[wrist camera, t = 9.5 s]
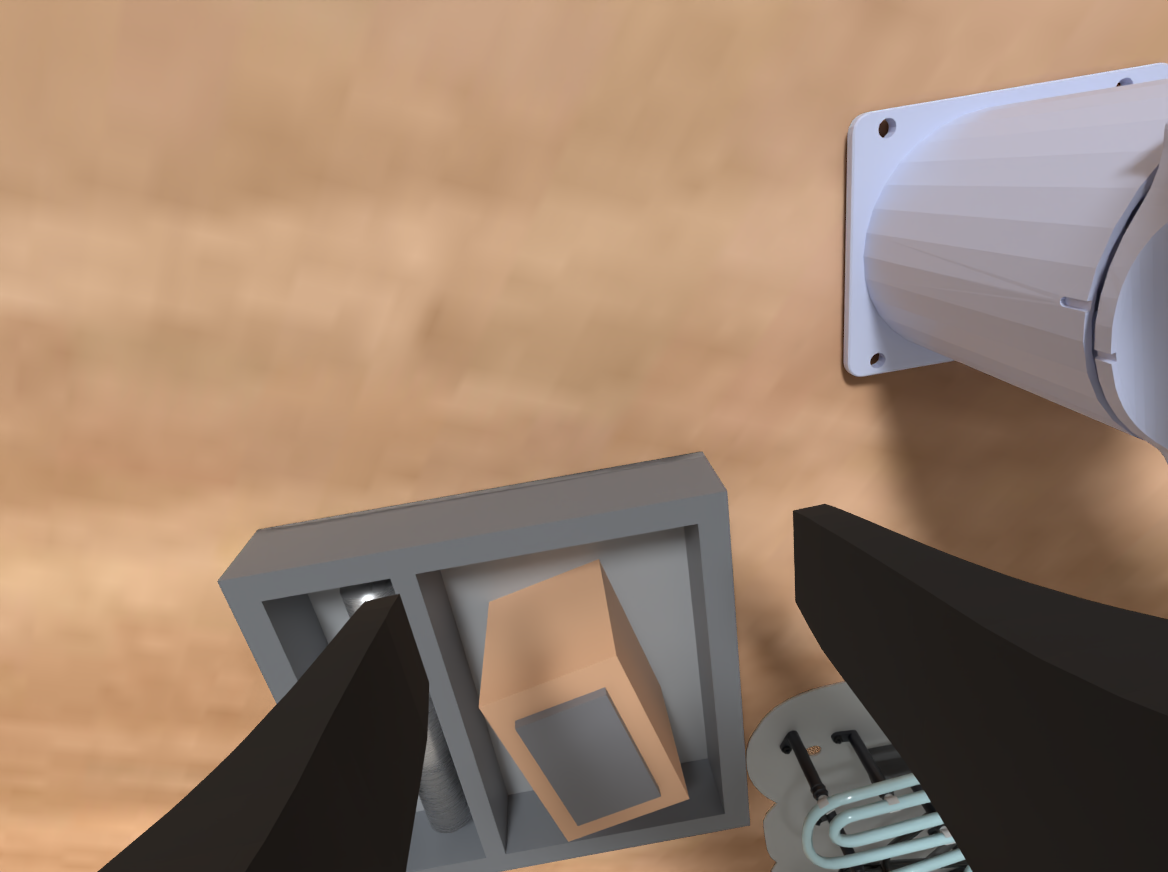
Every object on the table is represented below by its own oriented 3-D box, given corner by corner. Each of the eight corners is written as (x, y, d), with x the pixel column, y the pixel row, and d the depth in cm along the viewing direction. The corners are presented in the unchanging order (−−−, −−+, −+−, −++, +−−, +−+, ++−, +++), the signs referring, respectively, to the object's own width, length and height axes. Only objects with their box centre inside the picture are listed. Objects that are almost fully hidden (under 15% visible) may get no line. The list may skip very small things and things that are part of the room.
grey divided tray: (702, 451, 22) (727, 491, 19) (728, 761, 28) (750, 825, 25) (257, 529, 21) (217, 581, 19) (385, 824, 28) (369, 895, 25)
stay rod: (329, 586, 21) (356, 607, 20) (380, 557, 22) (409, 574, 21) (419, 814, 26) (446, 843, 24) (457, 779, 27) (485, 805, 26)
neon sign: (1364, 926, 31) (808, 1053, 32) (1272, 843, 35) (777, 957, 36) (1526, 606, 23) (767, 784, 23) (1381, 544, 27) (733, 698, 27)
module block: (598, 558, 23) (617, 662, 18) (660, 686, 25) (691, 807, 20) (489, 601, 23) (477, 715, 18) (561, 723, 26) (568, 850, 21)
